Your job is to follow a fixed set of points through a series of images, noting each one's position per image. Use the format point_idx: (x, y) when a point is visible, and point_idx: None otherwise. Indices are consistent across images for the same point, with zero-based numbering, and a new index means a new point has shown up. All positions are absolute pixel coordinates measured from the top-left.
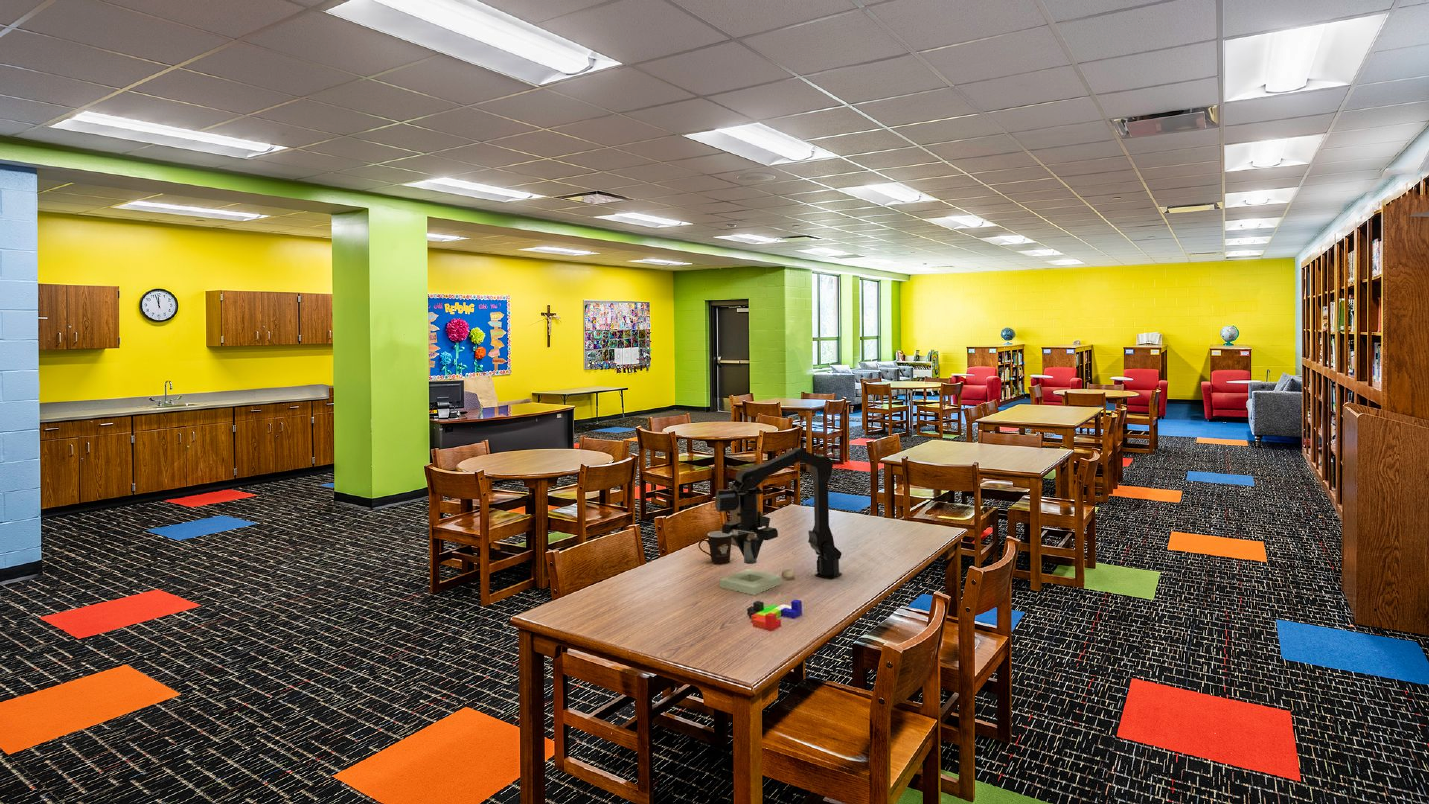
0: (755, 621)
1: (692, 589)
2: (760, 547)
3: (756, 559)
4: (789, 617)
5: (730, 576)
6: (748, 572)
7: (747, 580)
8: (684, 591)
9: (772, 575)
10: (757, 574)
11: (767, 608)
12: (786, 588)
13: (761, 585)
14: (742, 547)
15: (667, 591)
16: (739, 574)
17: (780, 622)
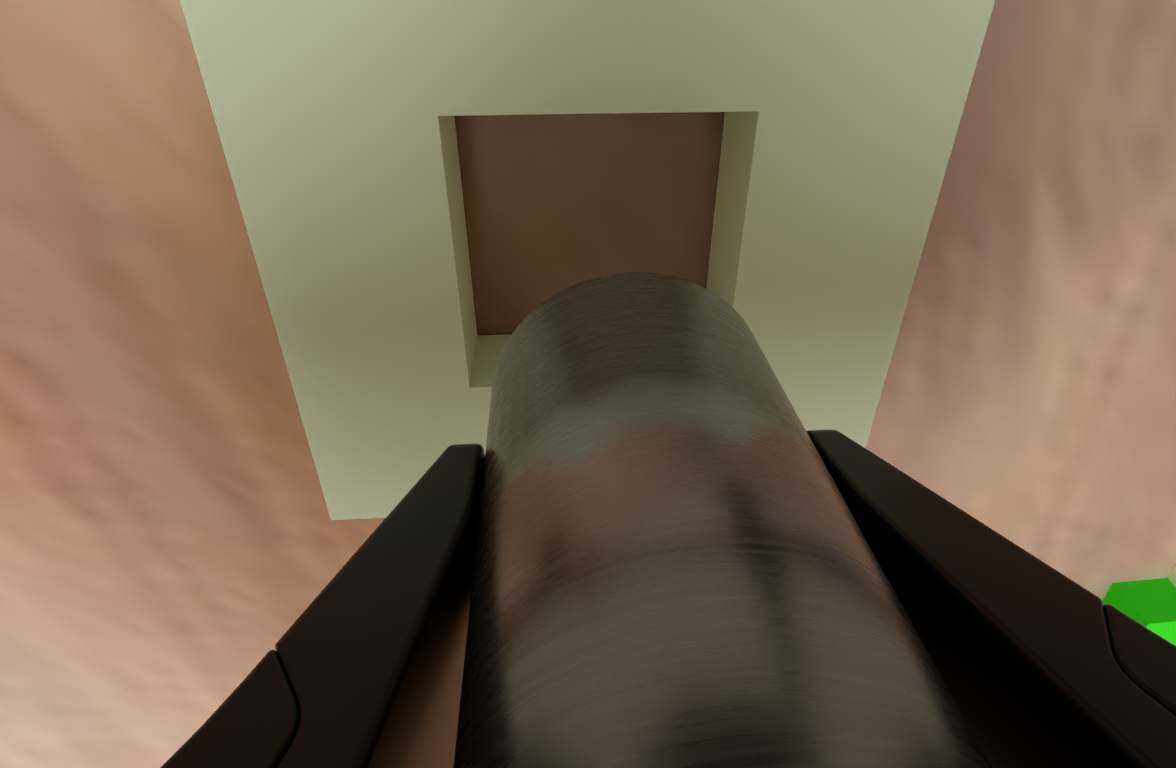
0: None
1: (219, 613)
2: (1132, 623)
3: (776, 377)
4: None
5: (323, 377)
6: (354, 47)
7: (455, 150)
8: (224, 665)
9: None
10: (573, 51)
11: None
12: (1087, 19)
13: (877, 380)
14: (450, 762)
15: (131, 720)
16: (337, 237)
17: None
